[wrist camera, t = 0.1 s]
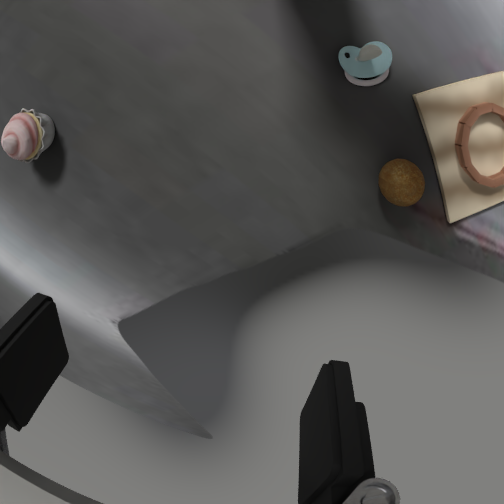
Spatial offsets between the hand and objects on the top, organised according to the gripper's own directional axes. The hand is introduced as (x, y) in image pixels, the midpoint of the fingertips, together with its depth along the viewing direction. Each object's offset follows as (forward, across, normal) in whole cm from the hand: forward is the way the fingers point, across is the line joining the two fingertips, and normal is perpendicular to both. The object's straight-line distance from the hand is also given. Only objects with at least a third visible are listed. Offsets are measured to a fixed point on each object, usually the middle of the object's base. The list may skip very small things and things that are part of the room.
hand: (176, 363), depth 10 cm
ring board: (+37, -33, -11) cm, 51 cm away
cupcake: (+37, +38, -1) cm, 53 cm away
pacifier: (+38, -11, -16) cm, 42 cm away
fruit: (+37, -19, -2) cm, 42 cm away
